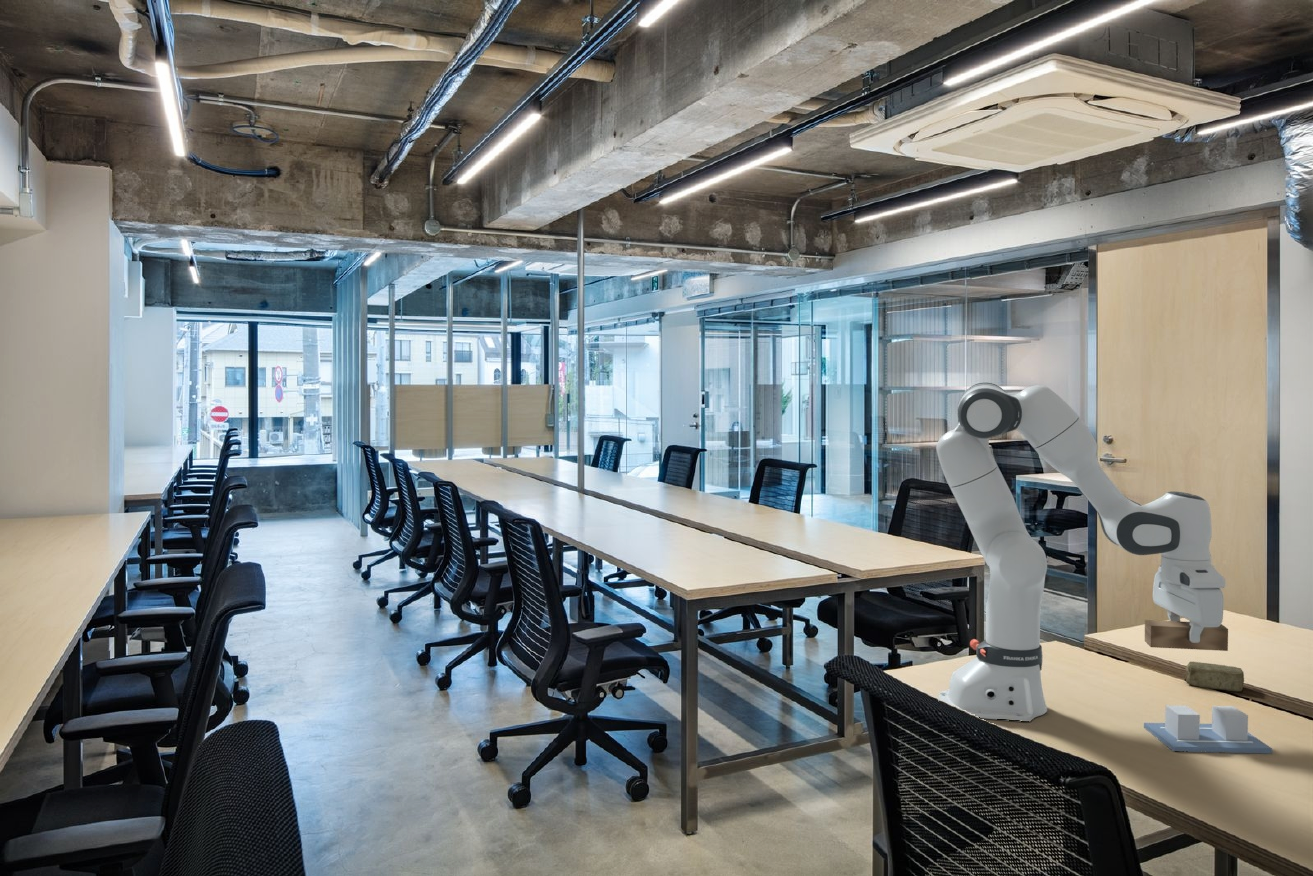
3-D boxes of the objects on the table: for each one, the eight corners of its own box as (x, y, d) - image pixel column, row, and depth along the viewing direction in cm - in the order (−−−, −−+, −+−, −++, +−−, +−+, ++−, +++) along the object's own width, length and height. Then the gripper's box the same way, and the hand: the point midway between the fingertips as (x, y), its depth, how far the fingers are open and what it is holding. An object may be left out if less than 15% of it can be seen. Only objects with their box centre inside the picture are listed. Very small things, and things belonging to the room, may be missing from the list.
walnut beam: (1150, 647, 180) (1150, 625, 180) (1144, 641, 185) (1144, 620, 184) (1227, 651, 177) (1228, 629, 177) (1219, 644, 181) (1220, 623, 181)
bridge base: (1173, 751, 169) (1174, 721, 168) (1143, 727, 180) (1144, 699, 180) (1271, 753, 167) (1272, 722, 167) (1235, 729, 179) (1236, 700, 179)
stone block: (1244, 694, 199) (1245, 673, 199) (1185, 687, 205) (1185, 666, 204) (1242, 686, 204) (1242, 665, 204) (1184, 679, 210) (1185, 659, 209)
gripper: (1144, 561, 190) (1144, 623, 191) (1197, 581, 170) (1196, 652, 171) (1174, 560, 190) (1174, 623, 191) (1230, 581, 170) (1229, 651, 170)
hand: (1184, 637), depth 181 cm, fingers closed on walnut beam, 5 cm apart
